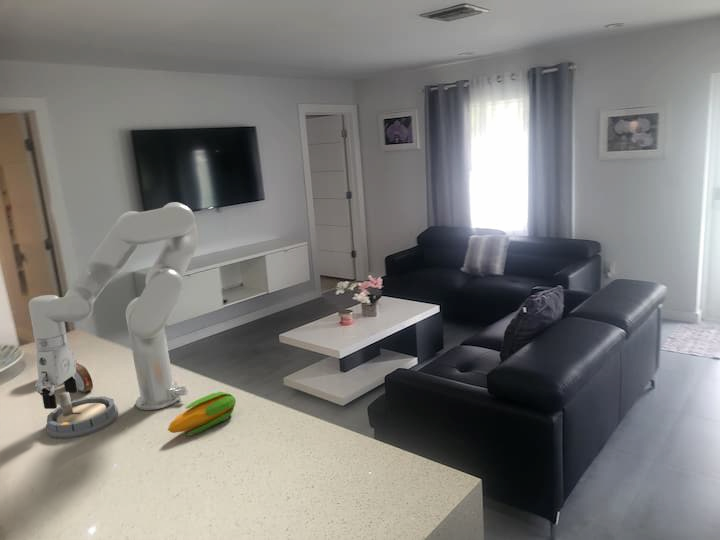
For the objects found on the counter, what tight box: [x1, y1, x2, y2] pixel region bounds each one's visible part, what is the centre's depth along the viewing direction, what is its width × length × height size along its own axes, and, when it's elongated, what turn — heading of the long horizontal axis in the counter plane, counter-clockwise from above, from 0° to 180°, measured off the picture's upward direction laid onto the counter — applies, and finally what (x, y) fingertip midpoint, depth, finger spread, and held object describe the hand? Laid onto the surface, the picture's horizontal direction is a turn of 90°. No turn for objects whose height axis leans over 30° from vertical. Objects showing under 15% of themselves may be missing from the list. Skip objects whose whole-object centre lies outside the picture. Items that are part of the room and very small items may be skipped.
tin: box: [75, 362, 94, 393], centre depth 176 cm, size 15×3×8 cm, turn 49°
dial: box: [57, 391, 106, 423], centre depth 152 cm, size 12×12×7 cm
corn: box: [167, 391, 237, 437], centre depth 145 cm, size 7×8×20 cm
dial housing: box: [45, 396, 119, 440], centre depth 153 cm, size 18×18×4 cm
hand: (61, 400), depth 152 cm, fingers open, 9 cm apart
